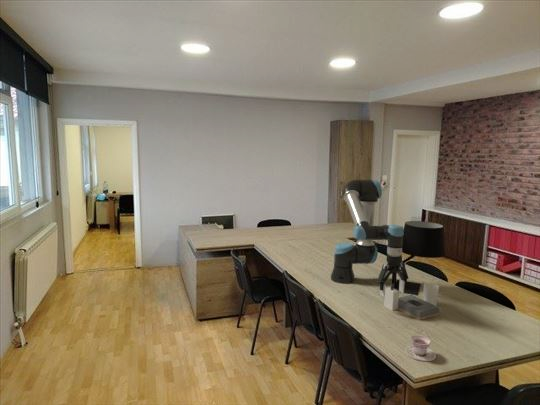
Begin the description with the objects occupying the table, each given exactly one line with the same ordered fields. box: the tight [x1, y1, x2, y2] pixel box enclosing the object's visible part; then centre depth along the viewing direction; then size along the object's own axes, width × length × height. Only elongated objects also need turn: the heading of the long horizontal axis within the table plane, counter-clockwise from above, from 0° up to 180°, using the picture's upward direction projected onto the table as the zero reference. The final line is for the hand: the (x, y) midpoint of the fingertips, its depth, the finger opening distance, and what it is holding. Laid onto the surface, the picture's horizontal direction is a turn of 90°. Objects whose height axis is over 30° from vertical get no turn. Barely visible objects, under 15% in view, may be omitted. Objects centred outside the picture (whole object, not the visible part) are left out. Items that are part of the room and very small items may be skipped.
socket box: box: [397, 294, 440, 321], centre depth 194 cm, size 18×14×4 cm
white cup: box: [422, 283, 440, 306], centre depth 203 cm, size 8×8×10 cm
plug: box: [383, 283, 400, 311], centre depth 196 cm, size 6×4×13 cm, turn 27°
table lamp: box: [391, 220, 446, 296], centre depth 222 cm, size 26×28×40 cm
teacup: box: [404, 334, 437, 362], centre depth 152 cm, size 12×12×6 cm
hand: (392, 294), depth 195 cm, fingers open, 13 cm apart
